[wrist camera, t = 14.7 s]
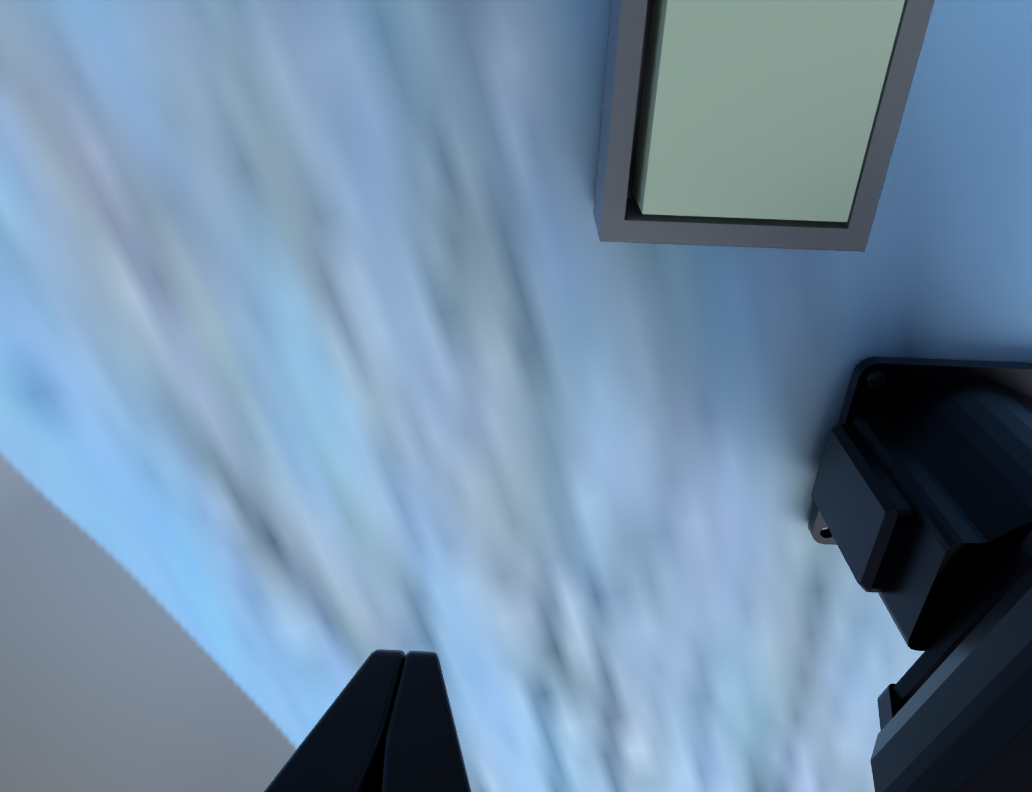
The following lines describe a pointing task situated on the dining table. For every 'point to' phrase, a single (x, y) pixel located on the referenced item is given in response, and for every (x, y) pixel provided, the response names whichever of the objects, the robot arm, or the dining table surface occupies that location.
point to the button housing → (628, 224)
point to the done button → (760, 106)
